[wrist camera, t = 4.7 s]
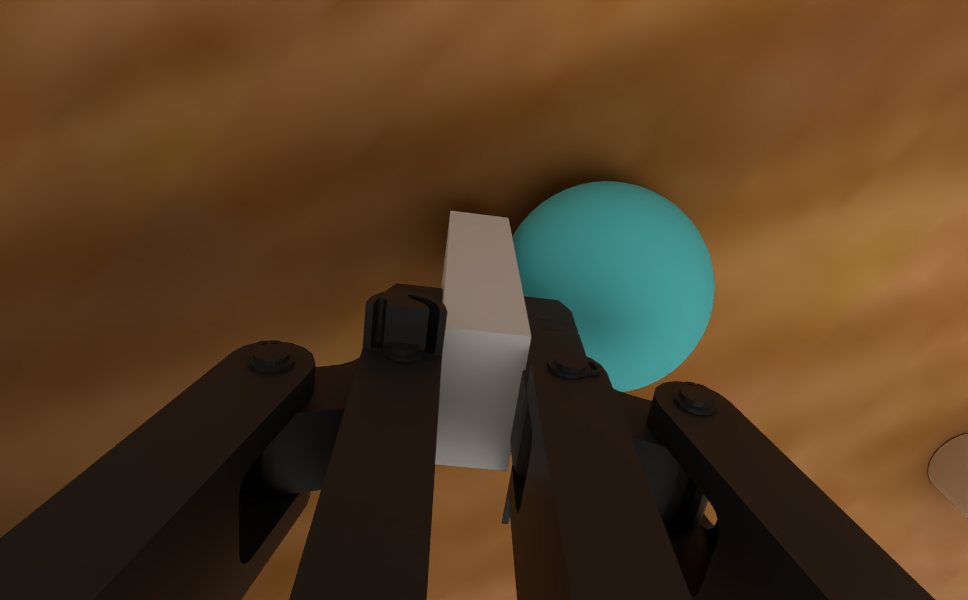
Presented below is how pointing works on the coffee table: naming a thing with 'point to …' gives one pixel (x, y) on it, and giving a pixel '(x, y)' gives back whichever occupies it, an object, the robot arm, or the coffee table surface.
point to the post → (952, 472)
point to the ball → (620, 276)
